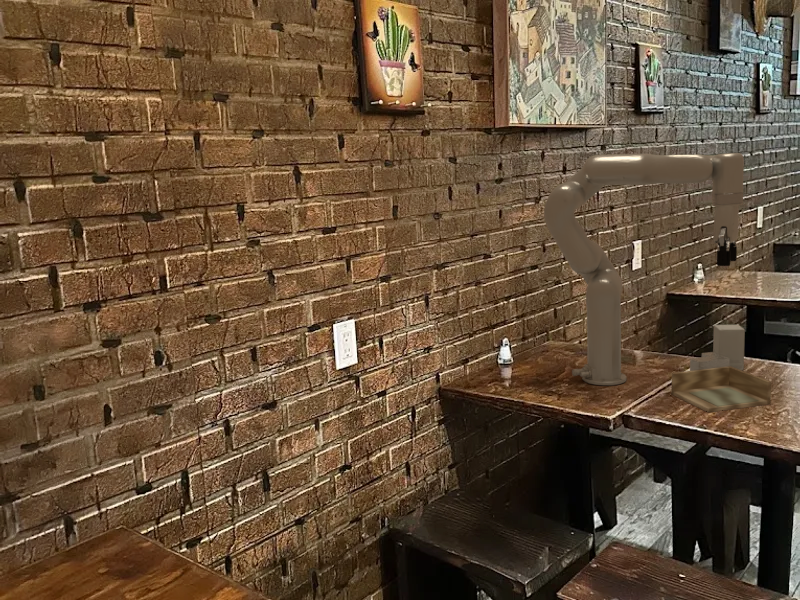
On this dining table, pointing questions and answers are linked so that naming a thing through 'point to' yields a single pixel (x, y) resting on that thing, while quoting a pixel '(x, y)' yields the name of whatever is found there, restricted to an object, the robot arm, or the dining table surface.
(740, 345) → the supplement box
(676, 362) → the dining table surface
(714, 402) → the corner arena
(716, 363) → the bracket
